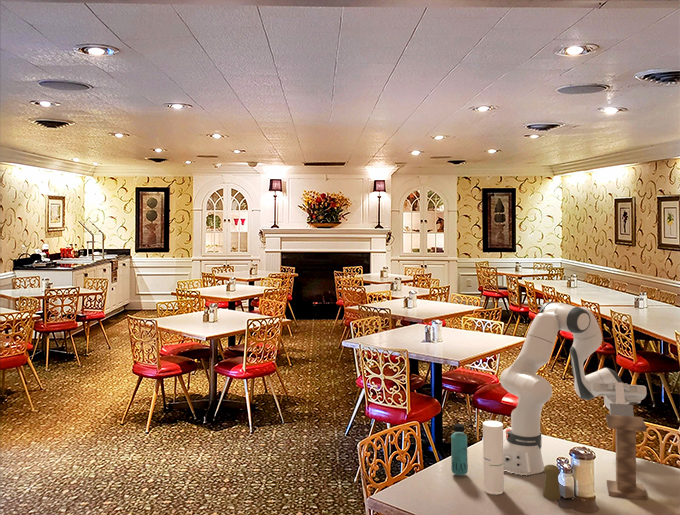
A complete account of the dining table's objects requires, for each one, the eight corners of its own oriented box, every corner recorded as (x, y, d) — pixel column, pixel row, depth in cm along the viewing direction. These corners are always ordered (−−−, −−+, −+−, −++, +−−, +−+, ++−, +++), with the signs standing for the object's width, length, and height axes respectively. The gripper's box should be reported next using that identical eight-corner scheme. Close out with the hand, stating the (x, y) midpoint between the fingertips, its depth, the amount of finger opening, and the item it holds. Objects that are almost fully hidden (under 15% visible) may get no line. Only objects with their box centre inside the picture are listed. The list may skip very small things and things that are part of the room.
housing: (610, 425, 218) (611, 422, 216) (607, 384, 229) (608, 380, 227) (634, 427, 215) (634, 424, 213) (629, 385, 226) (630, 381, 224)
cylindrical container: (490, 485, 214) (489, 419, 213) (507, 490, 209) (506, 423, 208) (480, 491, 209) (478, 423, 208) (497, 497, 204) (496, 428, 203)
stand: (609, 496, 202) (608, 424, 201) (606, 482, 213) (605, 414, 213) (647, 501, 198) (646, 427, 197) (642, 487, 209) (641, 417, 208)
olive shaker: (562, 500, 200) (562, 469, 200) (544, 499, 201) (543, 468, 201) (559, 493, 206) (559, 463, 205) (541, 492, 207) (541, 462, 207)
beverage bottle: (449, 477, 221) (448, 426, 221) (453, 471, 227) (452, 421, 227) (466, 479, 219) (465, 428, 218) (469, 473, 225) (468, 423, 224)
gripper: (589, 384, 241) (590, 375, 230) (643, 388, 234) (647, 378, 223) (589, 399, 239) (591, 390, 227) (644, 403, 231) (648, 394, 220)
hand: (619, 384), depth 225 cm, fingers closed on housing, 3 cm apart
